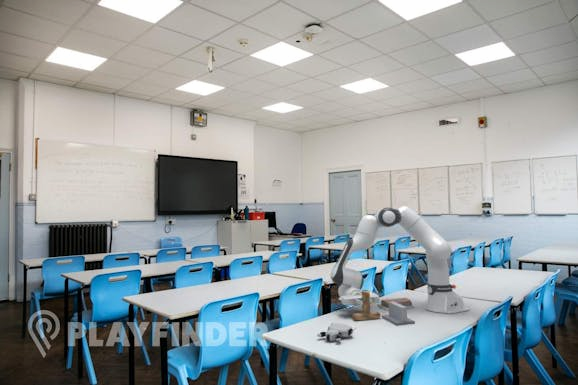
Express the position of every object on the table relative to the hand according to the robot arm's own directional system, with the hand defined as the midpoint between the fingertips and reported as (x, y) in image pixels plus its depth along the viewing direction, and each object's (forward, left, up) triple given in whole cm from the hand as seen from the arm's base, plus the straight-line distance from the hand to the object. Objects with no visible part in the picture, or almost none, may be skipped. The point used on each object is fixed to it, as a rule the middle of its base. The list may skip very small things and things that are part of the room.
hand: (366, 302), depth 197 cm
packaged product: (-27, -18, -9) cm, 34 cm away
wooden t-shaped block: (0, -1, -8) cm, 8 cm away
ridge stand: (-14, +6, -8) cm, 17 cm away
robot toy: (+25, +21, -9) cm, 34 cm away
